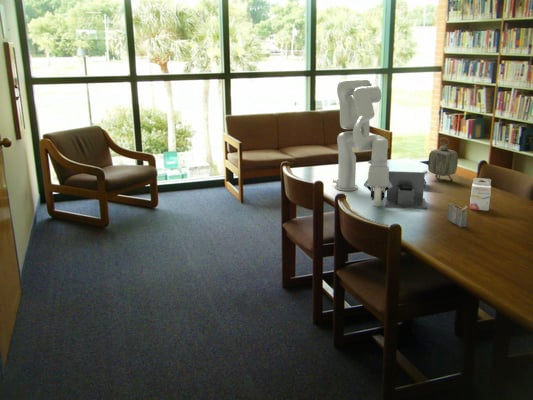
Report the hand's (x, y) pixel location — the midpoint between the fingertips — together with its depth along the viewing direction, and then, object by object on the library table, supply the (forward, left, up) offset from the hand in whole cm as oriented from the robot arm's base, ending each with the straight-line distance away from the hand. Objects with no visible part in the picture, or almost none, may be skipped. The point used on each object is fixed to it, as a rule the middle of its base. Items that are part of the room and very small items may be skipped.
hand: (377, 198), depth 267 cm
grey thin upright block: (+41, -1, -4) cm, 41 cm away
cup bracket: (+9, +11, -3) cm, 15 cm away
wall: (-3, +46, -4) cm, 47 cm away
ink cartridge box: (+41, +26, -4) cm, 49 cm away
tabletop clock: (+3, +67, -4) cm, 67 cm away
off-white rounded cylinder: (0, 0, -3) cm, 3 cm away
